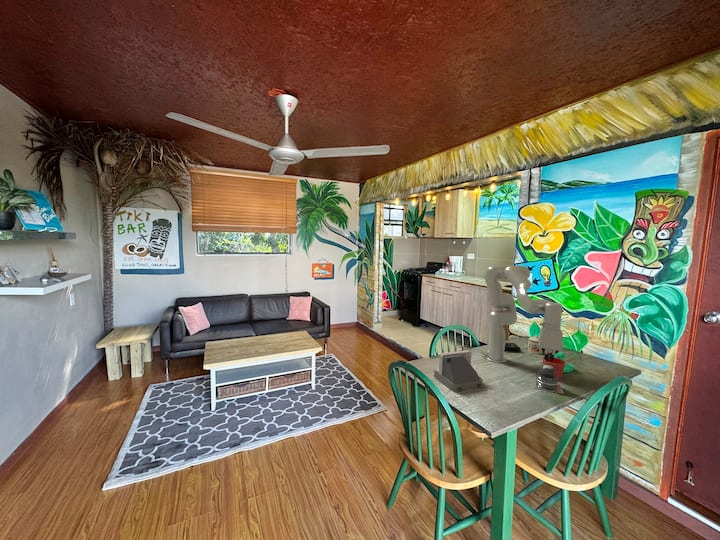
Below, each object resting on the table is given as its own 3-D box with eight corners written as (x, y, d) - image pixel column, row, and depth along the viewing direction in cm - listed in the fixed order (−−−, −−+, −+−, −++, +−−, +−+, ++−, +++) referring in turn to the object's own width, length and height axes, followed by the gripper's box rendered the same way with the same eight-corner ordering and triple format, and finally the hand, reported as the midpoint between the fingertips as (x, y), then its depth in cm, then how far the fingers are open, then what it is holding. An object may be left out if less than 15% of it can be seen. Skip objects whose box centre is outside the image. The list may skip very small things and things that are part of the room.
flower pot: (569, 380, 161) (570, 363, 160) (551, 381, 159) (552, 364, 159) (553, 372, 172) (554, 356, 171) (536, 373, 170) (538, 356, 169)
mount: (563, 374, 169) (565, 357, 169) (550, 369, 176) (551, 352, 175) (575, 370, 175) (577, 353, 174) (561, 365, 182) (563, 349, 181)
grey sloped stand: (465, 372, 170) (466, 346, 168) (487, 389, 149) (489, 361, 148) (430, 374, 166) (432, 348, 164) (448, 392, 145) (450, 363, 144)
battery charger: (514, 348, 211) (514, 343, 211) (520, 353, 202) (520, 347, 201) (495, 347, 212) (495, 342, 212) (500, 352, 203) (501, 346, 202)
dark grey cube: (541, 378, 152) (542, 367, 151) (539, 373, 157) (540, 363, 157) (555, 380, 150) (556, 370, 149) (553, 376, 155) (553, 365, 154)
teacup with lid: (525, 351, 204) (526, 335, 203) (529, 348, 210) (531, 332, 209) (545, 357, 195) (546, 339, 194) (549, 353, 201) (550, 337, 200)
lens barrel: (533, 388, 152) (534, 376, 151) (531, 379, 162) (531, 368, 161) (563, 394, 146) (564, 381, 146) (559, 384, 156) (560, 372, 156)
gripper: (535, 326, 151) (532, 361, 152) (571, 330, 144) (568, 366, 146) (533, 322, 158) (530, 356, 159) (568, 326, 151) (564, 361, 153)
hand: (548, 361), depth 153 cm, fingers closed
